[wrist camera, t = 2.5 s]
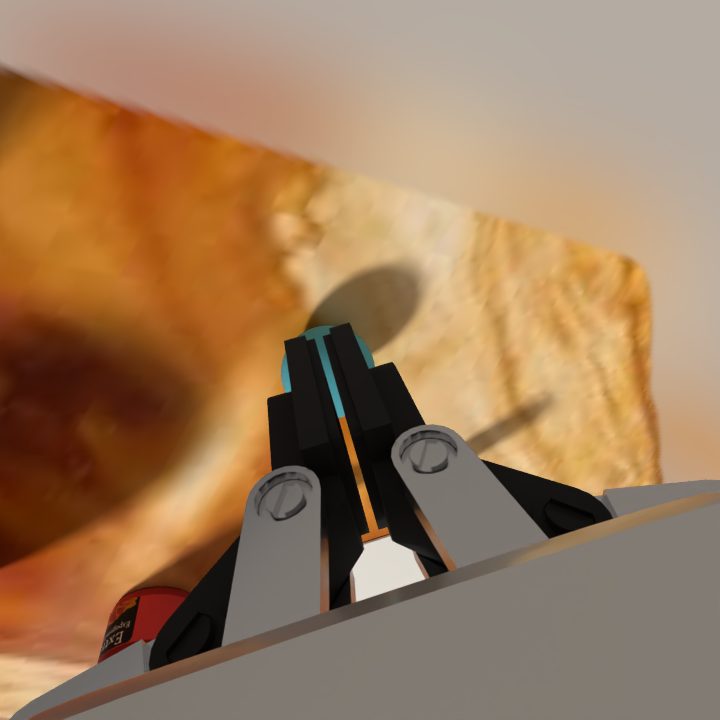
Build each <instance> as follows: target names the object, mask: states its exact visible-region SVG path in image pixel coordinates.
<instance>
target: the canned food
mask: <svg viewBox="0 0 720 720" xmlns="http://www.w3.org/2000/svg"><path fill="white" fill-rule="evenodd" d="M188 595H189V593H187V592H185V591H183V590H180V589H176V588H171V587H152V588H145V589H142V590H138V591H135V592H133V593H130V594H128V595H127V596H125V597H123V598H122V599H121V600H120V601H119V602H118V603H117V604H116V606H115V607H114V609H113V611H112V613H111V614H110V617H109V621H108V625H107V629H106V633H105V637H104V640H103V644H102V648H101V652H100V656H99V660H98V664H99V663H100V662H102V661H104V660H106V659H108V658H109V657H111V656H113V655H115V654H116V653H118V652H120V651H122V650H124V649H125V648H127V647H129V646H131V645H132V644H134V643H136V642H138V641H140V640H141V639H142V640H143V641H144V642H146V643H148V642H150V641H152V640H154V639H155V638H156V636H157V634H158V633H159V631H160V630H161V628H162V627H163V625H164V624H165V623H166V621H167V620H168V619H169V617H170V616H171V615H172V614H173V613H174V612H175V610H176V609H177V608H178V607H179V606H180V605H181V603H182V602H183V601H184V600H185V599H186V598H187V596H188Z"/></svg>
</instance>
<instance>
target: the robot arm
mask: <svg viewBox="0 0 720 720" xmlns="http://www.w3.org/2000/svg"><path fill="white" fill-rule="evenodd" d="M329 331H330V334H328V335H324V336H323V340H324V343H325V347H326V350H327V354H328V357H329V361H330V364H331V368H332V371H333V375H334V378H335V382H336V385H337V389H338V392H339V396H340V399H341V403H342V406H343V410H344V413H345V417H346V420H347V424H348V427H349V431H350V434H351V437H352V441H353V444H354V448H355V451H356V454H357V458H358V461H359V465H360V468H361V471H362V475H363V478H364V482H365V485H366V488H367V492H368V495H369V499H370V502H371V505H372V509H373V512H374V516H375V519H376V522H377V526H378V529H382V528H385V527H388V530H389V533H390V536H391V540H392V541H393V542H395V543H397V544H399V545H402V546H404V547H406V548H408V549H410V550H412V552H413V555H414V558H415V561H416V562H417V564H418V566H419V568H420V570H421V572H422V574H423V576H424V577H425V579H424V580H421V581H418V582H415V583H412V584H409V585H406V586H403V587H400V588H397V589H394V590H391V591H388V592H385V593H382V594H379V595H376V596H373V597H370V598H367V599H364V600H361V601H358V602H356V592H355V578H354V574H353V570H352V569H353V567H354V566H355V564H356V562H357V561H358V559H359V557H360V556H361V554H362V553H363V550H364V546H363V542H362V538H361V535H363V534H366V533H370V532H369V528H368V524H367V521H366V517H365V513H364V510H363V506H362V502H361V499H360V495H359V491H358V488H357V484H356V480H355V477H354V473H353V469H352V466H351V462H350V458H349V455H348V451H347V447H346V444H345V440H344V436H343V433H342V429H341V425H340V422H339V418H338V415H337V412H336V408H335V405H334V402H333V398H332V395H331V391H330V388H329V385H328V381H327V378H326V375H325V371H324V368H323V365H322V361H321V358H320V355H319V351H318V348H317V345H316V341H315V338H314V339H310V340H306V337H305V335H304V336H300V337H297V338H293V339H289V340H286V341H284V344H285V351H286V358H287V365H288V372H289V379H290V385H291V391H290V392H287V393H283V394H280V395H277V396H273V397H270V398H268V399H267V405H268V420H269V435H270V451H271V466H272V472H270V473H268V474H266V475H265V476H264V477H263V478H261V479H260V480H259V481H258V482H257V483H256V484H255V486H254V487H253V488H252V490H251V491H250V493H249V496H248V499H247V502H246V507H245V513H244V519H243V525H242V530H241V534H240V536H239V537H238V538H237V539H236V540H235V541H234V543H233V544H232V545H231V546H230V547H229V548H228V550H227V551H226V552H225V553H224V554H223V556H222V557H221V558H220V559H219V560H218V561H217V563H216V564H215V565H214V566H213V567H212V568H211V570H210V571H209V572H208V573H207V574H206V575H205V577H204V578H203V579H202V580H201V581H200V582H199V584H198V585H197V586H196V587H195V588H194V589H193V591H192V592H191V593H190V594H189V595H188V596H187V598H186V599H185V600H184V601H183V602H182V603H181V605H180V606H179V607H178V608H177V609H176V610H175V612H174V613H173V614H172V615H171V616H170V617H169V619H168V620H167V621H166V623H165V624H164V625H163V627H162V628H161V630H160V631H159V633H158V634H157V636H156V638H155V639H154V640H152V641H150V642H148V643H146V642H144V641H143V640H142V639H141V640H140V641H138V642H136V643H134V644H132V645H131V646H129V647H127V648H125V649H124V650H122V651H120V652H118V653H116V654H115V655H113V656H111V657H109V658H108V659H106V660H104V661H102V662H100V663H99V664H97V665H95V666H93V667H91V668H90V669H88V670H86V671H84V672H83V673H81V674H79V675H77V676H75V677H74V678H72V679H70V680H68V681H67V682H65V683H63V684H61V685H59V686H58V687H56V688H54V689H52V690H50V691H49V692H47V693H45V694H43V695H42V696H40V697H38V698H36V699H34V700H33V701H31V702H30V703H28V704H27V705H26V706H24V707H23V708H22V709H20V710H19V711H17V712H16V713H15V714H14V715H13V716H12V717H11V718H10V720H720V480H699V481H689V482H679V483H668V484H657V485H647V486H636V487H626V488H616V489H605V490H604V491H603V495H602V496H592V495H591V494H589V493H587V492H584V491H582V490H580V489H577V488H574V487H571V486H568V485H564V484H561V483H558V482H555V481H551V480H548V479H545V478H541V477H538V476H535V475H531V474H528V473H525V472H522V471H518V470H515V469H512V468H508V467H505V466H502V465H498V464H495V463H492V462H489V461H485V460H482V459H480V458H479V457H478V456H477V455H476V454H475V453H474V451H473V450H472V449H471V448H470V447H469V446H468V444H467V443H466V442H465V441H464V440H463V439H462V437H461V436H459V435H458V434H457V433H456V432H455V431H453V430H451V429H449V428H447V427H444V426H439V425H426V424H425V422H424V420H423V418H422V417H421V415H420V413H419V411H418V409H417V407H416V405H415V403H414V401H413V399H412V397H411V395H410V393H409V392H408V390H407V388H406V386H405V384H404V382H403V380H402V378H401V376H400V374H399V372H398V370H397V368H396V366H395V365H394V363H393V362H390V363H387V364H383V365H380V366H376V367H373V368H368V365H367V363H366V361H365V358H364V356H363V354H362V351H361V349H360V346H359V344H358V342H357V339H356V337H355V335H354V332H353V330H352V328H351V325H350V323H346V324H343V325H339V326H336V327H332V328H329Z"/></svg>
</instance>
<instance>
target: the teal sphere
mask: <svg viewBox="0 0 720 720" xmlns="http://www.w3.org/2000/svg"><path fill="white" fill-rule="evenodd" d="M332 327H336V326H332V325H325V326H318V327H314V328H311V329H309V330H307V331H305V332H303V333H302V334H300V335H299V336H298V337H300V336H304V335H305V337H306V340H310V339H314V338H315V341H316V345H317V348H318V351H319V355H320V358H321V361H322V365H323V368H324V371H325V375H326V378H327V381H328V385H329V388H330V391H331V395H332V398H333V402H334V405H335V408H336V412H337V415H338V418H340V417H343V416H345V413H344V410H343V406H342V403H341V399H340V396H339V392H338V389H337V385H336V382H335V378H334V375H333V371H332V368H331V364H330V361H329V357H328V354H327V350H326V347H325V343H324V340H323V336H324V335H328V334H330V331H329V328H332ZM354 335H355V337H356V339H357V342H358V344H359V346H360V349H361V351H362V354H363V356H364V358H365V361H366V363H367V365H368V368H373V367H375V365H374V360H373V357H372V354H371V352H370V350H369V348H368V347H367V345H366V344H365V342H364V341H363V340H362V339H361V338H360V337H359V336H357V335H356V334H355V333H354ZM281 377H282V383H283V386H284V389H285V392H286V393H287V392H290V391H291V385H290V379H289V372H288V365H287V358H286V353H285V355H284V358H283V362H282V367H281Z"/></svg>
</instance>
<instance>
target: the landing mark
mask: <svg viewBox="0 0 720 720" xmlns="http://www.w3.org/2000/svg"><path fill="white" fill-rule="evenodd" d="M363 546H364V550H363V553H362V554H361V556H360V557H359V559H358V561H357V562H356V564H355V566H354V567H353V569H352V570H353V574H354V578H355V592H356V602H358V601H361V600H364V599H367V598H370V597H373V596H376V595H379V594H382V593H385V592H388V591H391V590H394V589H397V588H400V587H403V586H406V585H409V584H412V583H415V582H418V581H421V580H424V579H425V577H424V576H423V574H422V572H421V570H420V568H419V566H418V564H417V562H416V561H415V558H414V555H413V552H412V550H410V549H408V548H406V547H404V546H402V545H399V544H397V543H395V542H393V541H392V540H391V536H390V535H387V536H384V537H380V538H377V539H374V540H371V541H368V542H365V543H363Z"/></svg>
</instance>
